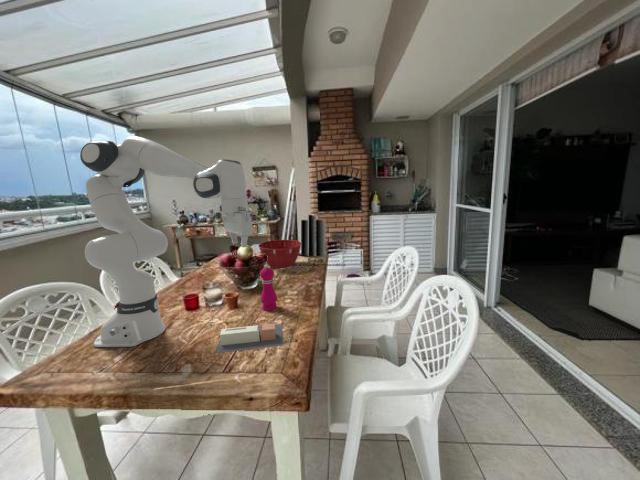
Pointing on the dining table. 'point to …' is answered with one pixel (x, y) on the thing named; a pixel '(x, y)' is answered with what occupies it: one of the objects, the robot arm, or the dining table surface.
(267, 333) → the stub
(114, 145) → the robot arm
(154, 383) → the dining table surface
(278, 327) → the slate mat
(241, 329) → the pale green slotted block
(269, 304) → the pepper mill
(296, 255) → the mixing bowl
